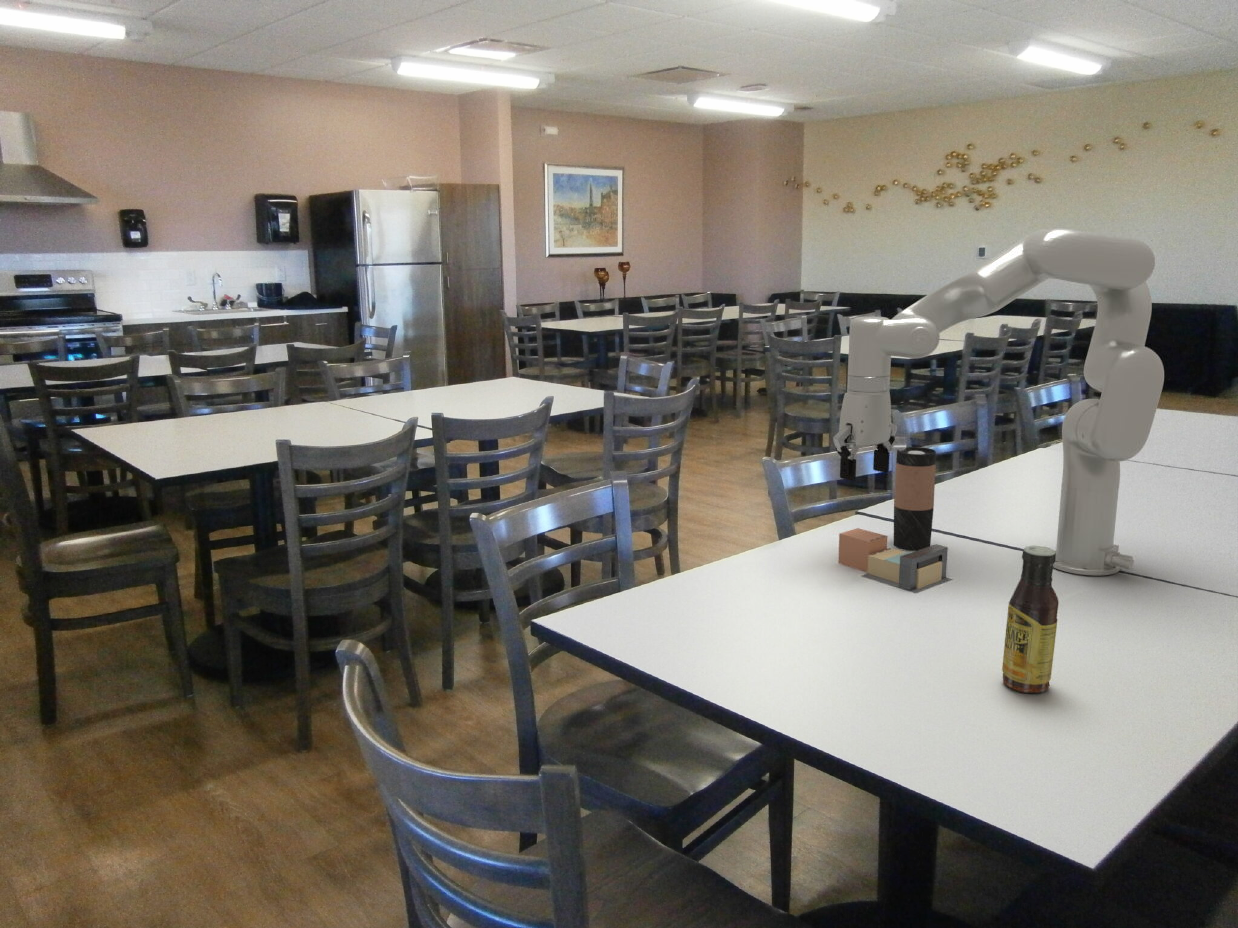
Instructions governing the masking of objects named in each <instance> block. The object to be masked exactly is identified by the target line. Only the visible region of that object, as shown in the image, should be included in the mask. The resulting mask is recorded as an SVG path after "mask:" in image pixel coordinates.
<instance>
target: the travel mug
mask: <svg viewBox="0 0 1238 928" xmlns="http://www.w3.org/2000/svg"><path fill="white" fill-rule="evenodd" d="M936 458H937V451H936V450H935V449H933V448H929V447H921V446H907V447H905V448H904V449H903V450H899V448H897V449H896V461H895V479H894V480H895V481H894V494H893V495H894V498H893V546H894V547H895V548H897V549H898V550H902V551H908V552H915V551H918V550H921V549H924V548H927V547H930V546H931V541H932V532H933V531H932V530H933V519H934V508H935V488H936V486H935V485H936V462H937V459H936Z"/></svg>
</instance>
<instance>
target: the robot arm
mask: <svg viewBox="0 0 1238 928" xmlns="http://www.w3.org/2000/svg"><path fill="white" fill-rule="evenodd" d="M1155 266H1156V258H1155V255H1154V253H1153V250H1152V248H1151V247H1150V246H1149V245H1148V244H1147V243H1145V242H1144V241H1142V240H1139V239H1138V238H1137V239H1136V238H1132V237H1126V236H1117V235H1111V234H1103V233H1095V232H1091V231H1090V232H1089V231H1083V230H1076V229H1071V228H1063V227H1056V228H1055V227H1054V228H1041V229H1037V230H1034V231H1032V232H1031V233H1029V234H1027V235H1025V236H1023V237H1022V238H1020V239H1018V240H1017V241H1016V242H1014V243H1013V244H1010V246H1008V247H1006V248H1005V249H1003V250H1002V251H999V253H997V254H995V255H994V256H993V257H991V258H989V259H988V260H987V261H985V262H983V263H981V264H980V265H978V266H976V267H975V268H973V269H971V270H970V271H968V272H967V273H965V274H963V275H961V276H959V277H957V278H956V279H953V281H950V282H949V283H946V285H943V286H941V287H940V288H938V289H936V290H934V291H932V292H931V293H929V294H927V295H926V296H923V297H921V298H920V299H919V300H917V301H916V302H914V303H913V304H910V306H908V307H906V308H905V309H903V310H902V311H900V312H899V313H897V314H896V315H894V316H893V317H892V318H891V319H890V318H889V317H886V316H885V317H884V316H858V317H855V318H853V319H851V321H850V324H849V331H848V332H849V335H848V336H849V339H848V358H847V359H848V361H847V363H848V365H847V387H846V388H847V389H846V392H845V393H844V395H843V399H842V404H841V410H840V416H839V417H840V419H839V425H838V427H839V428H838V432H837V433H836V434H835V435H834V436H833V438H832V439H833V443H834V446H835V451H836V452H837V455H838V458H840V462H839V463H840V465H839V477H840V479H843V480H848V481H852V482H853V481H856V478H857V477H856V475H857V473H856V472H857V459H856V458H855V457H856V455H857V453H858V451H859V449H863V448H868V447H873V446H874V447H875V448H876V449H873V463H872V466H873V467H872V469H873V470H874V471H875V472H881V473H889V471H890V452H891V451H892V449H893V444H894V442H895V440H896V435H897V431H898V425H896V424H895V423H893V422H892V403H891V402H892V401H891V393H890V385H891V384H890V383H891V367H892V366H891V364H892V363H891V362H892V357H900V358H906V359H921V358H925V357H928V356H929V355H931V354H932V353H934V351H935V350H937V348H938V346H939V344H940V339H941V336H940V333H943V332H944V331H946V330H947V329H949V328H952V327H954V326H955V325H957V324H960V323H964V322H965V321H969V320H971V319H976V318H981V317H985V316H988V315H991V314H992V313H995V312H997V311H999V310H1000V309H1002V308H1004V307H1005V306H1007V305H1008V304H1010V303H1011V302H1013V301H1014V300H1016V299H1018V298H1019V297H1021V296H1023V295H1024V294H1026V293H1027V292H1029V291H1030V290H1032V289H1034V288H1036V287H1037V286H1039V285H1040V284H1042V283H1043V282H1045V281H1046V280H1049V279H1053V280H1061V281H1065V282H1070V283H1076V284H1083V285H1089V287H1090V288H1091V290H1092V292H1093V294H1094V297H1095V299H1096V302H1097V303H1096V304H1097V314H1096V318H1095V325H1094V328H1093V332H1092V335H1091V339H1090V344H1089V347H1088V351H1087V355H1086V358H1085V362H1084V366H1083V377H1084V379H1085V382H1086V383H1087V384H1088V385H1089V386H1090V387H1091V388H1093V389H1095V390H1096V391H1098V392H1100V393H1101V395H1100V398H1087V399H1082V400H1080V401H1078V402H1076V403H1074V404H1073V405H1072V406H1071V407H1070V408H1069V409H1068V410H1067V412H1066V413H1065V415H1064V418H1063V421H1062V425H1061V437H1062V450H1063V451H1062V452H1063V453H1062V454H1063V458H1062V459H1063V461H1062V463H1063V464H1062V466H1063V467H1062V478H1061V479H1062V480H1061V488H1060V489H1061V490H1060V498H1059V499H1060V500H1059V510H1058V525H1057V535H1056V547H1055V548H1056V549H1055V550H1054V551H1055V552H1056V560H1055V562H1054V564H1053V568H1054V569H1057V570H1059V571H1062V572H1066V573H1070V574H1075V575H1081V576H1095V577H1096V576H1109V575H1114V574H1117V573H1118V572H1120V571H1121V568H1123V569H1126V570H1132V569H1133V567H1134V565H1135V561H1134V557H1133V556H1132V555H1129V554H1122V553H1121V552H1120V551H1119V549H1120V545H1119V544H1118V545H1117V544H1114V540H1115V531H1116V520H1117V511H1118V501H1119V499H1118V498H1119V490H1120V483H1121V481H1120V480H1121V462H1125V461H1129V460H1130V459H1132V458H1134V457H1136V456H1137V455H1138V454H1139V453H1141V451H1142V449H1143V448H1144V447H1145V445H1146V443H1147V441H1148V438H1149V436H1150V432H1151V429H1152V426H1153V422H1154V419H1155V417H1156V412H1157V409H1158V405H1159V402H1160V398H1161V396H1162V395H1161V394H1162V391H1163V387H1164V384H1165V383H1164V382H1165V369H1164V364H1163V361H1162V360H1161V358H1160V356H1159V355H1158V354H1157V353H1156V352H1155V351H1154V350H1153V349H1151V348H1150V347H1147V346H1145V345H1146V340H1147V338H1148V337H1147V335H1148V332H1149V327H1150V322H1151V317H1152V311H1153V310H1152V307H1153V306H1152V295H1151V292H1150V288H1149V286H1148V283H1147V281H1148V280H1149V278H1150V277H1151V276H1152V274H1153V272H1154V269H1155ZM849 448H850V450H849Z"/></svg>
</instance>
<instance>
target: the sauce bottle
mask: <svg viewBox="0 0 1238 928" xmlns="http://www.w3.org/2000/svg"><path fill="white" fill-rule="evenodd" d="M1055 551H1056V550H1054V549H1052V548H1050V547H1046V546H1041V545H1029V546H1028V545H1027V546H1026V547H1024V548H1023V550H1022V554H1021V555H1022V556H1021V557H1022V558H1021V559H1022V568H1021V569H1022V570H1021V575H1020V579H1019V581H1018V583H1017V584H1016V587H1015V589H1014V591H1013V594H1012V595H1011V597H1010V599H1009V601H1008V606H1007V617H1006V627H1005V637H1004V647H1003V656H1002V667H1001V671H1002V681H1003V684H1004V685H1005V686H1007V687H1009V688H1011V689H1012V690H1015V691H1017V692H1018V693H1023V694H1024V693H1027V694H1040V693H1043V692H1045V691H1047V690H1049V687H1050V681H1051V679H1052V671H1053V663H1054V655H1055V654H1054V653H1055V644H1056V636H1057V628H1058V626H1057V625H1058V611H1059V598H1058V595H1057V593H1056V591H1055V589H1054V588H1053V586H1052V583H1053V568H1054V567H1053V564H1054V562H1055V560H1056V552H1055Z"/></svg>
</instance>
